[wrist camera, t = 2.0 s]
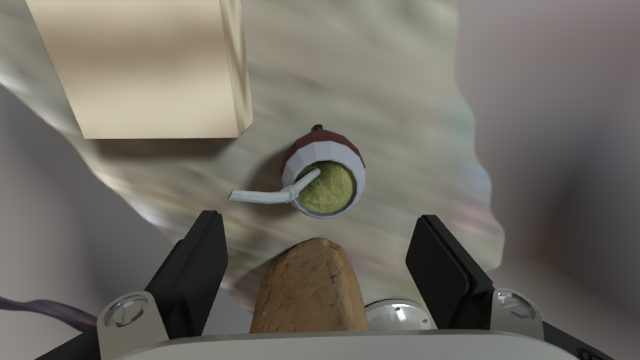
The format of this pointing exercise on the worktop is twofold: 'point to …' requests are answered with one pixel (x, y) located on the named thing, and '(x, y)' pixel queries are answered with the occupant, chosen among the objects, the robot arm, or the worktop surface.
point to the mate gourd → (317, 176)
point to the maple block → (150, 66)
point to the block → (310, 292)
